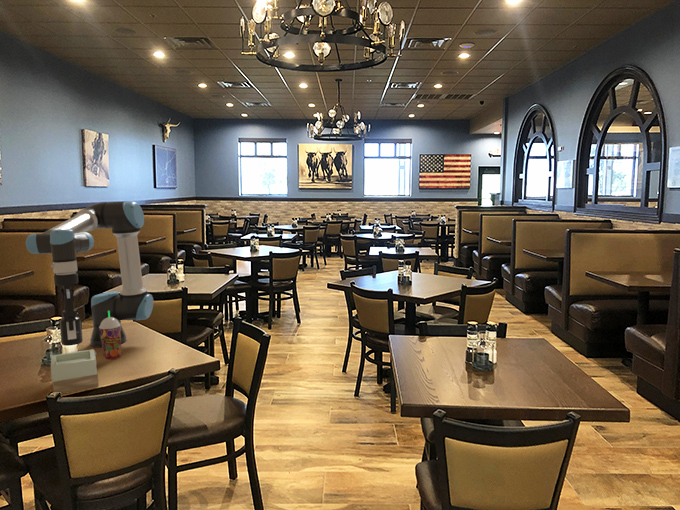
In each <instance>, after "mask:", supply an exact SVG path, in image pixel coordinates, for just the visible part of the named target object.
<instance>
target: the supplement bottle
mask: <svg viewBox="0 0 680 510" xmlns="http://www.w3.org/2000/svg"><path fill="white" fill-rule="evenodd" d="M61 316H62V317H61V319H60V321H59V329H60V330H59V331H60V342H61V345H62V346H65V347H67V346H68V347H69V346H75V345H76V346H77V345H80V344H81V343H83V329H82V327H83V326H82V318H80V317H79V316H78V309H76V308H74V317H75V327H76V337H77V339H70V340H68V335H67V324H66V322H64V320H66V310H65V309H64V310H62V311H61Z"/></svg>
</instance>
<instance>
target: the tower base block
mask: <svg viewBox="0 0 680 510" xmlns="http://www.w3.org/2000/svg"><path fill="white" fill-rule="evenodd" d="M99 387H100V386H99V376H98V373H97V374H96V375H90V376H85V377H79V378H73V379H67V380H61V381H56V382H52V388H53V393H54V392H61V393H64V394H68V393H67V392H69V393H73V392H72V391H74V392H79V391H78V390H80V391H83V390H89V389H90V390H91V389H94V388H99Z"/></svg>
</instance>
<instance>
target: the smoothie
mask: <svg viewBox="0 0 680 510" xmlns="http://www.w3.org/2000/svg"><path fill="white" fill-rule="evenodd" d="M121 326H122V323H121V324H120V323H119V321H118V320H117V319H116V318H113V317H110V311H108V317H107V318H105V319H104V320H103V321H102V322H101V324H100V326H99V329H100V336H101V342H102V347H101V348H102V354H103V356H104V358H105V360H115V359H116V360H117V359H119V358H120V356H121V354H122V343H121Z"/></svg>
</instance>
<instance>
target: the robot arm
mask: <svg viewBox="0 0 680 510" xmlns="http://www.w3.org/2000/svg"><path fill="white" fill-rule="evenodd" d="M144 225H145V215H144V212H143V208H142V207H141V206H140V204H139V203H138V202H136V201H127V200H126V201H125V200H124V201H102V202H97V203H94V204H92V205H89V206H87V207H84V208H82V209H80V210H78V211H77V213H76V214H75V216H73V217H70V218H69V219H67V220H64V221H63V222H61V223H59V224H57V225H55V226H54V227H51V228H50V229H47V230H45V231H44V232H42V233H31V234H28V236H26V240H25V246H26V247H25V248H26V250H27V251H28V253H30V254H32V255H33V254H36V255H51V257H52V258H51V259H52V264H51V265H50V268H52V269H53V273H54V275H53V281H54V283H53V284H54V286H56V287H57V286H58V287H59V286H60V287H61V286H62V288H61V289H60V293H61V297H62V302H63V303H64V305H63V306H64V310H66V320H64V322H66V324H67V335H68V340H70V339H77V337H76V327H75V317H74V309H75V308H74V301H75V295H74V294H75V292H74V291H75V289H74V287H73V288H72V285H77V284H79V273H78V260H77V254H81V253H87V252H89V251H90V250H92V248H93V247H94V245H95V238H94V237H93V235H92V234H91V233H89V232H92V231H94V230H98V229H99V230H100V229H109V230H110V229H111V233H112V235H113V236H114V237H116V243H117V244H116V245H117V252H118V260H119V268H120V277H121V278H120V279H121V284H122V289H121V290H120V292H119V291H117V290H113V291H107V292H102V293H99V294H95V295H93V296H92V297H91V299H90V300H91V301H90V308H91V316H92V325H93V326H92V327H93V328H92V333H91V336H90V341H89V342H90V346H91V347H94V348H102V342H101V336H100V329H99V326H100V324H101V322H102V321H103V320H104V319H105V318H107V317H108V311H110V317H113V318H116V319H117V320H118V321H119V323H120V324H121V344H124V343H125V342H126V341H127V335H126V332H125V329H124V328H123V326H122V323H121V322H122V321H142V320H147V319H149V317H150V316H151V314H152V312H153V308H154V297H153V295H152V294H150V293H148V289H147V288H146V287H144V286H143V283H144V282H143V275H142V267H141V256H140V249H139V248H140V247H139V239H138V235H139V234H140V232H141V228H142V227H143V226H144Z"/></svg>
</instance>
